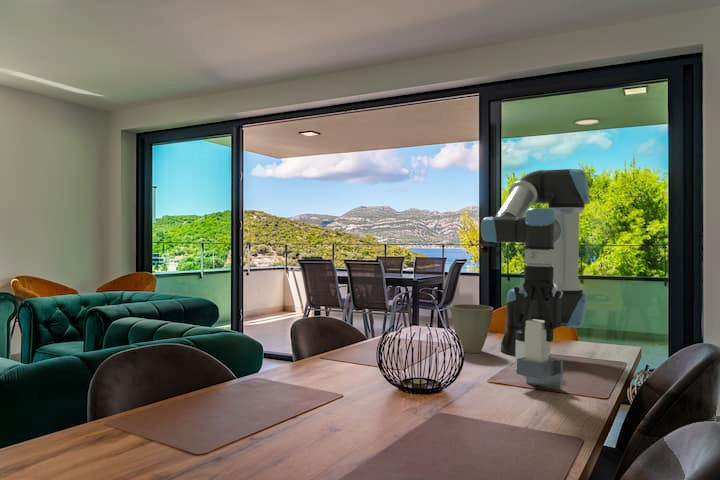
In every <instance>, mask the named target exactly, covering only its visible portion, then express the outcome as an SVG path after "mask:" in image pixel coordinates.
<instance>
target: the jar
mask: <svg viewBox="0 0 720 480" xmlns="http://www.w3.org/2000/svg"><path fill="white" fill-rule="evenodd" d="M524 348H525V338H523V337H522V330H517V331H516V350H515V355H514V357H515V358H514V359H515V361H514V362H515V363H514V370H515V372H517V359H519V358H523V357H525V351H524Z"/></svg>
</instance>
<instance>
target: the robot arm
mask: <svg viewBox="0 0 720 480" xmlns="http://www.w3.org/2000/svg"><path fill="white" fill-rule="evenodd" d="M589 187H590V186H589V183H588V176H587V173H586V172H585V170H583V169H581V168H579V169H577V168H568V169H567V168H564V169H561V168H560V169H540V170H535V171H532V172H529V173H527V174H525V175H523V176H521V177H519V178H518V179H517V180H515V181H514V182H513V184H511V187H510V188H509V190H508V197H507V198H506V199H505V201H504V202H503V204H502V205H501V207H500V209H499V210H498V212H497V213H496V214H495V216H486V217H484V218H482V220H481V224H480V235H481V238H482V240H483V241H484V242H488V243H495V244H496V243H513V244H514V243H520V244H521V243H522V244H523V243H524V263H525V264H526V265H525V266H524V270H523V272H524V274H523V279H524V282H523V284H522V285H520V286H515V287H513V288H511V289H510V290H508V291H507V295H506V302H505V303H506V316H505V317H506V323H505V324H506V325H505V326H506V327H505V332H504V334H503V335H504V336H503V338H502V341H501V344H500V352H502V353H504V354H507V355H510V356H511V355H512V356H515V350H516V331H517V330H522V337H523V338H525V333H526V321H527V320H532V319H536V320H544V321H545V326H546V328H545V329H543V350H542V354H548V353H549V354H551V342H553V340H554V329H556V328H557V329H558V328H560V327H565V328H580V327H582V325H583V323H584V321H585V316H586V312H587V311H586V310H587V307H588V306H587V305H588V294H586V293H584V288H583V287H582V286H581V284H579V264H580V263H579V258H580V257H579V256H580V255H579V253H580V252H579V251H580V249H579V248H580V243H579V242H580V213H582V212H583V211H584V210H585V204H589V203H590V188H589ZM535 204H536V205H537V204H544V205H545V204H548V207H547V208H546V207H533V208H532V207H531V206H533V205H535ZM530 207H531V208H530ZM524 351H525V348H524Z"/></svg>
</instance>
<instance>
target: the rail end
mask: <svg viewBox="0 0 720 480" xmlns="http://www.w3.org/2000/svg"><path fill="white" fill-rule="evenodd" d="M545 328H546V326H545V321H544V320H536V319H532V320H527V321H526V333H525V360H528V361H533V362H538V363H544V362H548V361H549V358H550V355H549V354H550V353H548V354H542V350H543V329H545Z"/></svg>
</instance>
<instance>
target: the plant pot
mask: <svg viewBox="0 0 720 480" xmlns="http://www.w3.org/2000/svg"><path fill="white" fill-rule="evenodd" d="M450 309H451V310H450V311H451V320H452V324H453V330H454V334H455V333H456V335H457V336H458V337H459V339H460V340H461V343H462V345H463V349H464V352H463V353H468V354H479V353H481V352H482V350H483V348H484V345H485V343H486V340H487V337H488V334H489V330H490V327H491V323H492V319H493V313H494V307H492V306H488V305H485V304H484V305H482V304H471V303H470V304H467V303H462V304H461V303H460V304H458V303H456V304H452V305H450ZM456 335H455V336H456Z"/></svg>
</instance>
